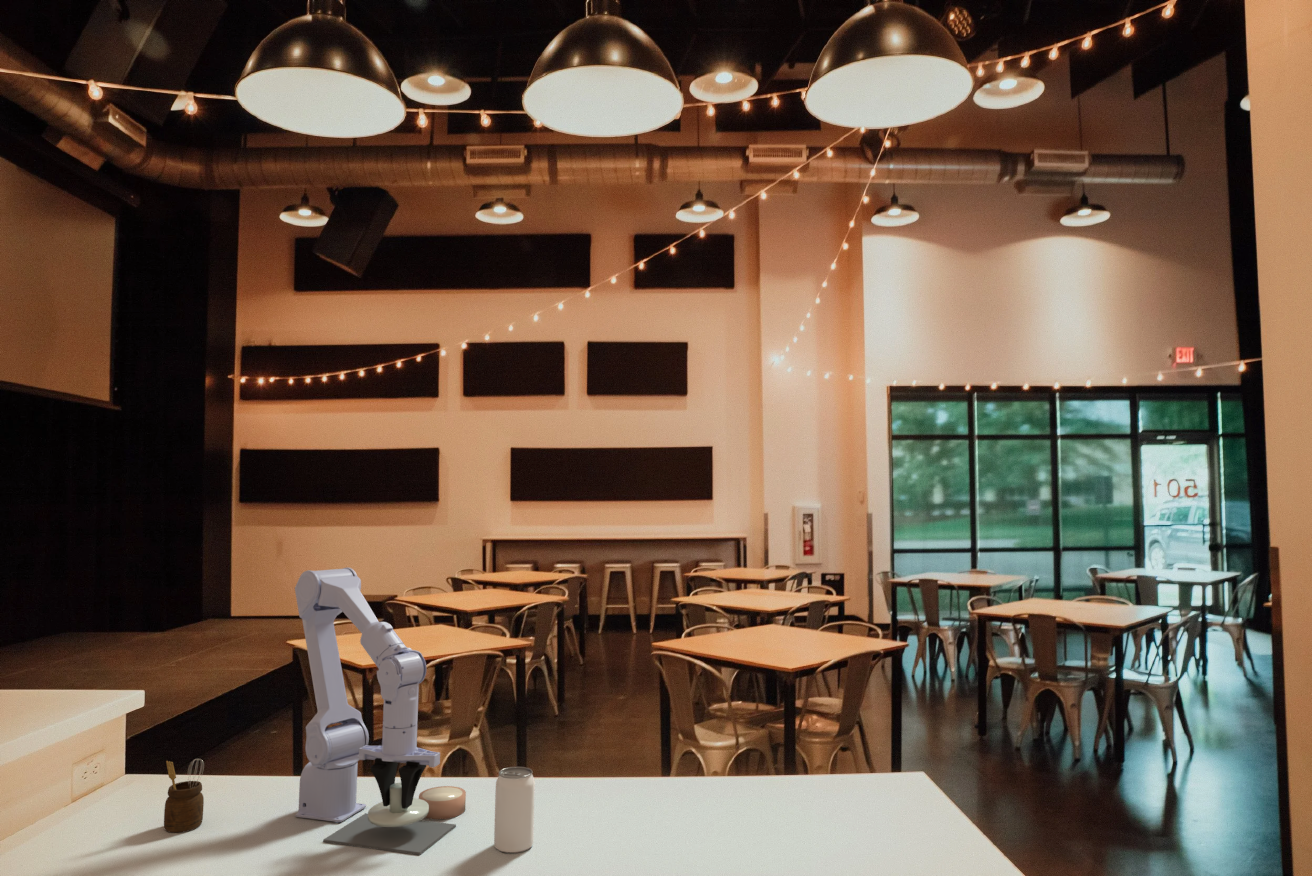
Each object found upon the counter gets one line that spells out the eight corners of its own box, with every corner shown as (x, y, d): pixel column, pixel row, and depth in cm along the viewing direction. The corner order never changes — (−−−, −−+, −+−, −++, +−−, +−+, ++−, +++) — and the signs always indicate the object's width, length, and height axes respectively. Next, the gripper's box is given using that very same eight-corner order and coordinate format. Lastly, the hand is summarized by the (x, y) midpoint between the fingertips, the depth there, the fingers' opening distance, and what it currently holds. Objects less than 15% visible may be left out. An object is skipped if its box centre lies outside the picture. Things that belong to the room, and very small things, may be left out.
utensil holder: (210, 823, 146) (214, 753, 147) (176, 836, 140) (180, 763, 141) (187, 817, 148) (191, 748, 149) (153, 830, 143) (157, 758, 143)
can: (525, 855, 135) (527, 779, 135) (487, 851, 136) (489, 776, 137) (538, 839, 141) (540, 767, 142) (502, 836, 142) (504, 764, 143)
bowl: (409, 816, 150) (409, 799, 151) (432, 800, 158) (433, 783, 159) (451, 821, 148) (452, 804, 148) (473, 804, 156) (473, 788, 157)
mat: (323, 841, 139) (323, 839, 139) (365, 815, 151) (365, 813, 151) (420, 854, 134) (420, 852, 134) (455, 826, 146) (455, 824, 146)
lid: (355, 822, 139) (355, 793, 140) (390, 799, 149) (390, 772, 149) (407, 829, 137) (408, 800, 137) (439, 805, 146) (440, 778, 146)
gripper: (349, 726, 141) (346, 809, 141) (426, 733, 138) (423, 818, 137) (373, 716, 148) (370, 794, 147) (447, 722, 145) (444, 803, 144)
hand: (397, 805), depth 143 cm, fingers closed on lid, 3 cm apart
